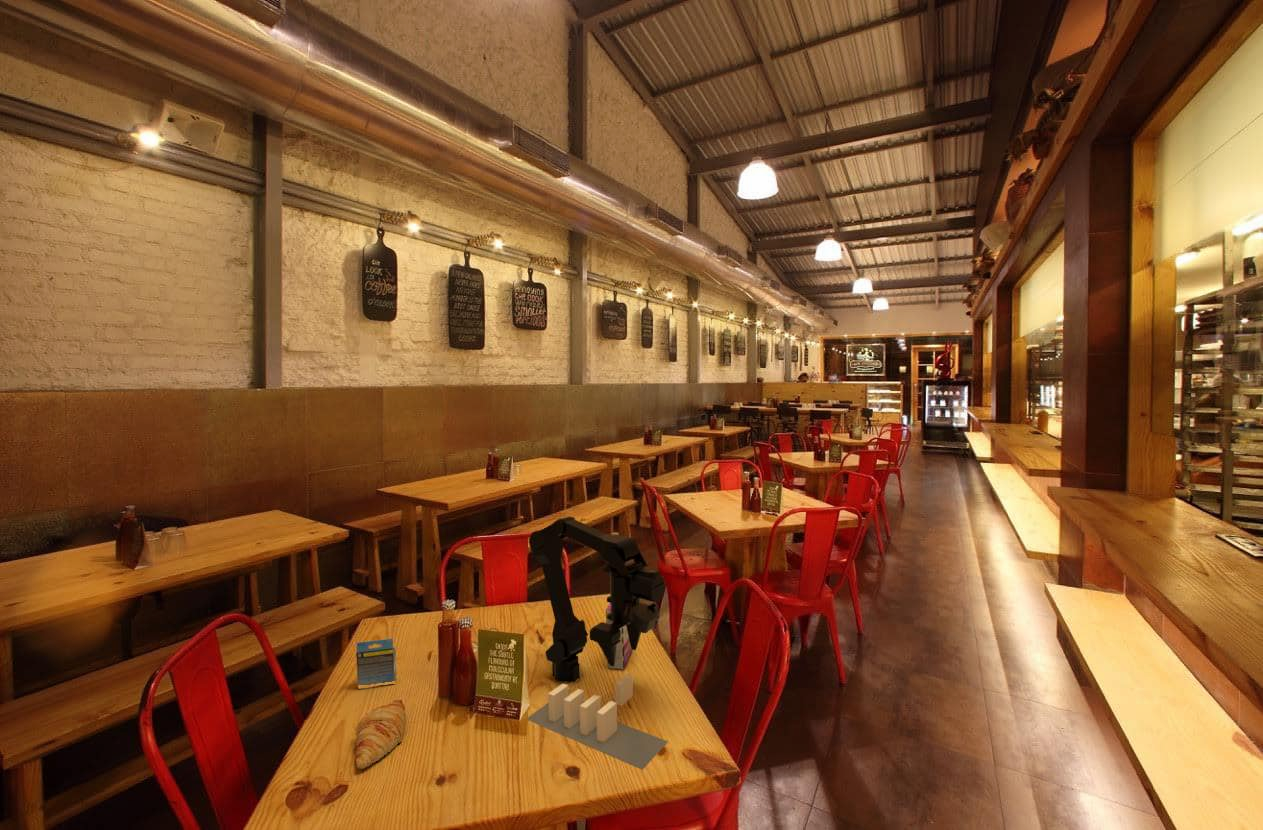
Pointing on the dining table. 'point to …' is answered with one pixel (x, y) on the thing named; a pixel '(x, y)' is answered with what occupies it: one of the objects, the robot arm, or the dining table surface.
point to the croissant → (379, 732)
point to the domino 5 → (623, 689)
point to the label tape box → (376, 662)
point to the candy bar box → (620, 646)
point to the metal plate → (620, 745)
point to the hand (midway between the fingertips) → (623, 657)
